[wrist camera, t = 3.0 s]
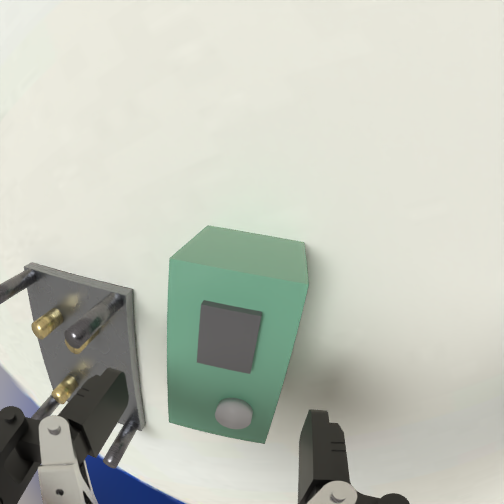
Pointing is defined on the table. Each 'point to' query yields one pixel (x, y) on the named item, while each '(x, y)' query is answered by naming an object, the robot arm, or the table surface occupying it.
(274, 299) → the module block
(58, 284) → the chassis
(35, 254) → the table surface
